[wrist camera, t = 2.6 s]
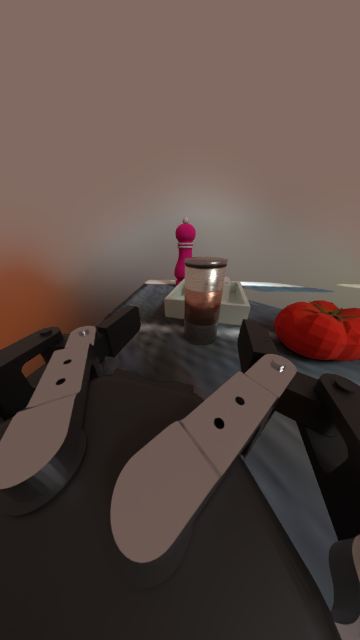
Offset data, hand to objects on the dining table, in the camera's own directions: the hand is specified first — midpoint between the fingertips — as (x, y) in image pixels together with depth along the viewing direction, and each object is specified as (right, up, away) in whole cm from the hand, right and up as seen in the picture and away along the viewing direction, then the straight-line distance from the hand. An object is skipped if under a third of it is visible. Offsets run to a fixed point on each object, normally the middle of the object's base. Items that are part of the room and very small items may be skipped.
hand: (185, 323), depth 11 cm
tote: (+6, +4, +26) cm, 27 cm away
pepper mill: (+1, +12, +40) cm, 42 cm away
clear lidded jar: (+3, -2, +14) cm, 14 cm away
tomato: (+20, -4, +11) cm, 23 cm away
